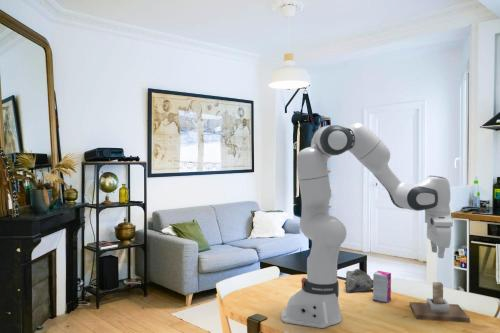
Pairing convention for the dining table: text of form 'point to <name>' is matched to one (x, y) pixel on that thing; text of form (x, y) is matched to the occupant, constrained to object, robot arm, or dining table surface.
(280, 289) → the dining table surface
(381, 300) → the supplement box
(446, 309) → the gray square dish
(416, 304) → the walnut board
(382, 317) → the dining table surface
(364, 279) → the mineral rock
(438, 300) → the birch stick
